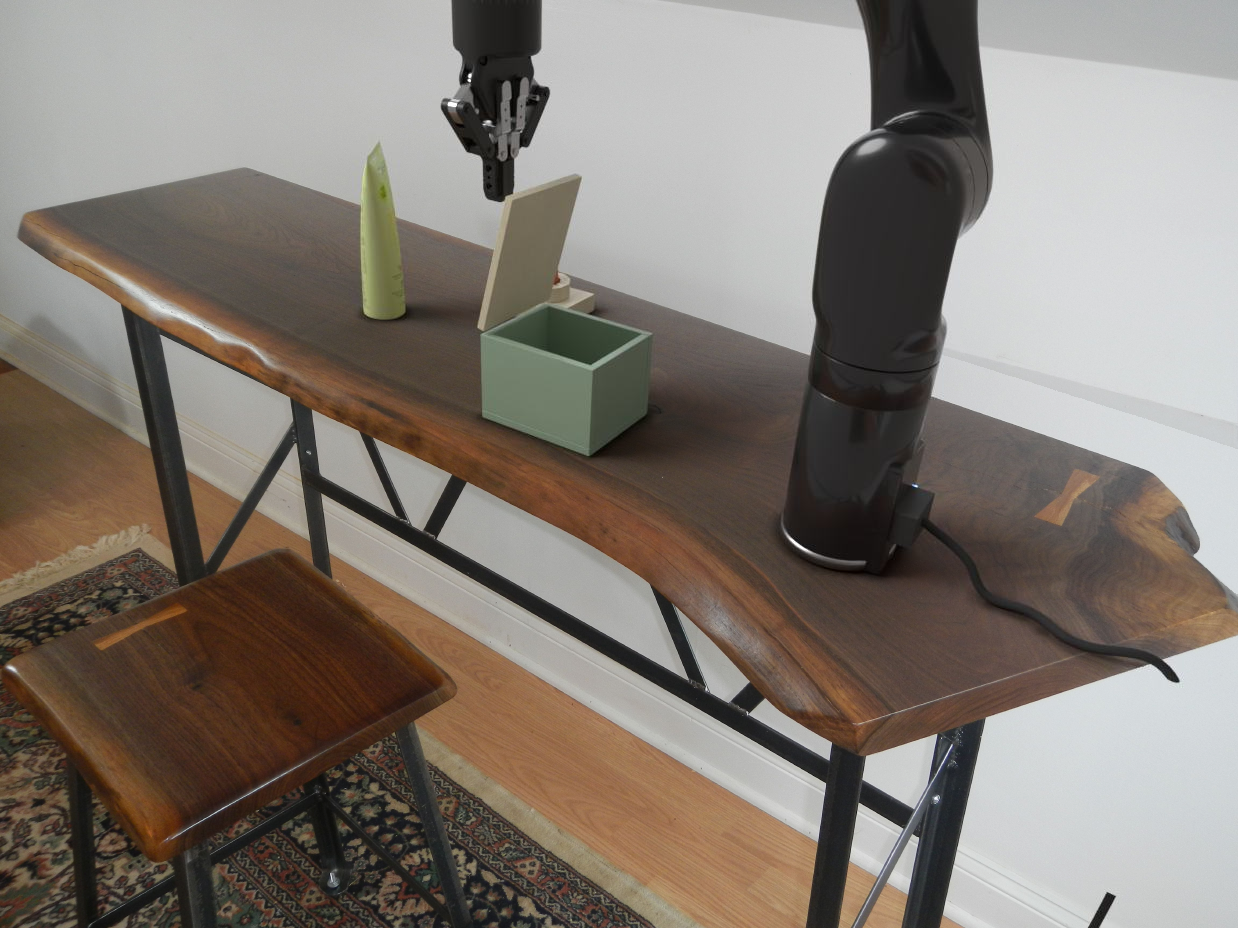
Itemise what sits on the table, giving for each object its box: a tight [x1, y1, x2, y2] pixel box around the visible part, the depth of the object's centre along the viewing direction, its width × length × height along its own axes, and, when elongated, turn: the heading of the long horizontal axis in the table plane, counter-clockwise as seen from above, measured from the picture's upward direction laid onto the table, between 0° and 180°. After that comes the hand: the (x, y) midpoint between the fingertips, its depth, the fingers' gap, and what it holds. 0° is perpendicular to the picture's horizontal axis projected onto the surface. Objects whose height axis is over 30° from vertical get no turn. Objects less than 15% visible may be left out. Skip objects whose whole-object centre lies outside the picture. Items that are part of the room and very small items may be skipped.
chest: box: [480, 302, 654, 457], centre depth 93 cm, size 13×11×9 cm
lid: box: [476, 173, 583, 332], centre depth 89 cm, size 13×11×1 cm
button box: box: [513, 272, 596, 318], centre depth 117 cm, size 10×8×4 cm
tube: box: [360, 139, 406, 321], centre depth 110 cm, size 6×5×20 cm
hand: (499, 199), depth 88 cm, fingers closed
